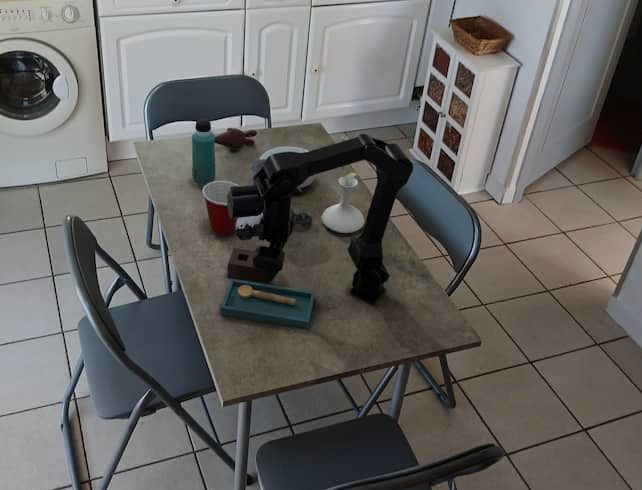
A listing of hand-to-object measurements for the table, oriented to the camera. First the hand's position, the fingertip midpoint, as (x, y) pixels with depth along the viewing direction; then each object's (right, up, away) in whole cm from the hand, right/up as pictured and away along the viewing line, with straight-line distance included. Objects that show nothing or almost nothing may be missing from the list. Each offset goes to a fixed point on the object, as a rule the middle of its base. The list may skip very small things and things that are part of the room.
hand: (272, 267), depth 165 cm
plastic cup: (-15, +8, +29) cm, 33 cm away
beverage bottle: (-22, +20, +45) cm, 54 cm away
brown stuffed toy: (-16, +31, +61) cm, 70 cm away
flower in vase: (+17, +9, +35) cm, 40 cm away
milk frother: (0, +10, +34) cm, 36 cm away
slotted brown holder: (-6, -2, +16) cm, 17 cm away
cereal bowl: (+2, +21, +49) cm, 53 cm away
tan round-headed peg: (+5, -9, +6) cm, 12 cm away
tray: (-1, -9, +7) cm, 12 cm away
